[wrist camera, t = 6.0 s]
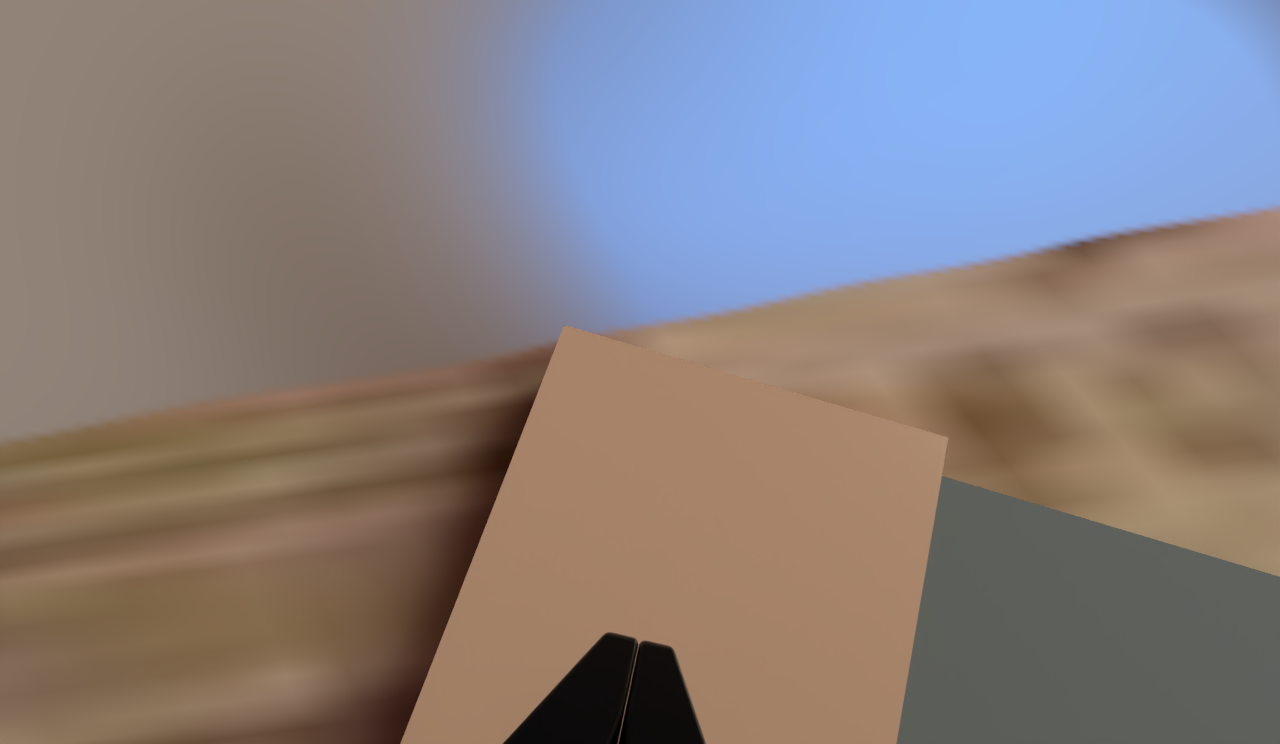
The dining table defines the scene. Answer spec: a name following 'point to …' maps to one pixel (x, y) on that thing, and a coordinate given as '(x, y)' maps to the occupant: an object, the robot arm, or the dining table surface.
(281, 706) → the dining table surface
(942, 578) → the mat
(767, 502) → the tile
